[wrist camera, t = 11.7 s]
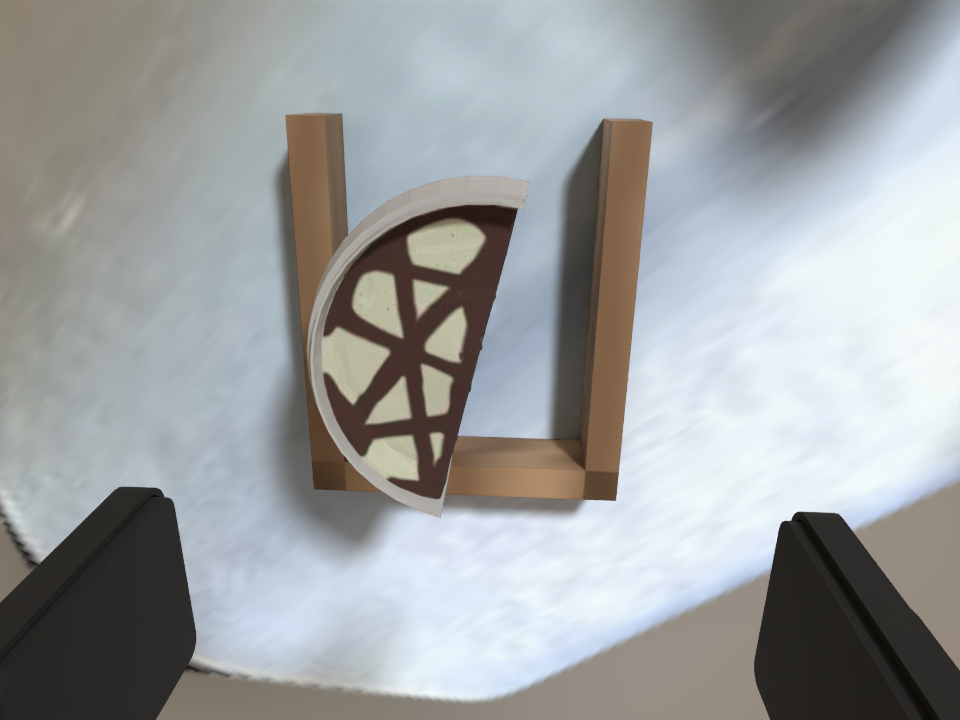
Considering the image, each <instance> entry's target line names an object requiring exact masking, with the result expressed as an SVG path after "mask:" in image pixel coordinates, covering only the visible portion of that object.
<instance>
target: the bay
mask: <svg viewBox="0 0 960 720" xmlns="http://www.w3.org/2000/svg"><path fill="white" fill-rule="evenodd" d="M285 116H286V129H287V142H288V155H289V168H290V181H291V194H292V207H293V220H294V233H295V246H296V259H297V272H298V285H299V298H300V311H301V324H302V337H303V350H304V363H305V376H306V389H307V402H308V415H309V428H310V441H311V454H312V467H313V480H314V489H323V490H349V491H375V492H383V491H381V490H380V489H378V488H377V487H375V486H374V485H373V484H372V483H371V482H369V481H368V480H367V479H366V478H365V477H364V476H363V475H361V474H360V473H359V472H358V471H357V470H356V469H355V468H354V467H353V465H352V464H351V463H350V462H349V461H348V460H347V458H346V457H345V456H344V455H343V454H342V453H341V451H340V450H339V448H338V446H337V445H336V443H335V442H334V440H333V438H332V437H331V435H330V434H329V432H328V430H327V428H326V426H325V424H324V421H323V419H322V417H321V414H320V412H319V410H318V407H317V405H316V403H315V400H314V396H313V392H312V388H311V383H310V379H309V373H308V361H307V342H308V331H309V322H310V316H311V311H312V307H313V303H314V299H315V296H316V292H317V288H318V285H319V283H320V280H321V278H322V276H323V274H324V272H325V269H326V267H327V265H328V263H329V261H330V260H331V258H332V257H333V255H334V254H335V252H336V251H337V249H338V248H339V246H340V245H341V243H342V242H343V240H344V239H345V238H346V237H347V236H348V224H347V204H346V184H345V164H344V144H343V124H342V114H324V113H304V114H293V115H285ZM652 125H653V122H650V121H645V120H640V119H603V131H602V144H601V158H600V171H599V185H598V198H597V212H596V226H595V239H594V253H593V266H592V280H591V293H590V307H589V320H588V334H587V347H586V361H585V375H584V388H583V402H582V415H581V429H580V440H555V439H526V438H498V437H470V436H458V439H457V441H456V443H455V446H454V452H453V455H452V460H451V465H450V471H449V476H448V481H447V487H446V492H445V494H453V495H480V496H506V497H532V498H558V499H584V500H610V501H616V494H617V484H618V474H619V464H620V453H621V443H622V433H623V423H624V412H625V402H626V392H627V382H628V371H629V361H630V351H631V340H632V330H633V320H634V310H635V299H636V289H637V279H638V269H639V258H640V248H641V238H642V227H643V217H644V207H645V197H646V186H647V176H648V166H649V156H650V145H651V135H652Z"/></svg>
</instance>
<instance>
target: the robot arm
mask: <svg viewBox="0 0 960 720" xmlns="http://www.w3.org/2000/svg"><path fill="white" fill-rule="evenodd" d="M195 645H196V630H195V624H194V618H193V612H192V606H191V600H190V595H189V589H188V583H187V577H186V571H185V565H184V559H183V553H182V547H181V542H180V536H179V530H178V524H177V518H176V512H175V507H174V503H173V501H172V500H171V499H170V498H166V497H164V494H163V493H162V491H161V490H160V489H158V488H147V487H119V488H117V489H116V490H114V491H113V492H112V493H111V494H110V495H109V496H108V497H107V498H106V499H105V500H104V501H103V502H102V503H101V504H100V505H99V506H98V507H97V508H96V509H95V510H94V511H93V512H92V513H91V514H90V515H89V516H88V517H87V518H86V519H85V520H84V521H83V522H82V523H81V524H80V525H79V526H78V527H77V528H76V529H75V530H74V531H73V532H72V533H71V534H70V535H69V536H68V537H67V538H66V539H65V540H64V541H63V542H62V543H60V544H59V545H58V546H57V547H56V548H55V549H54V550H53V551H52V552H51V553H50V554H49V555H48V556H47V557H46V558H45V559H44V560H43V561H42V562H41V563H40V564H39V565H38V566H37V567H36V568H35V569H34V570H33V571H32V572H31V573H30V574H29V575H28V576H27V577H26V578H25V579H24V580H23V581H22V582H21V583H20V584H19V585H18V586H17V587H16V588H15V589H14V590H13V591H12V592H11V593H10V594H9V595H8V596H7V597H6V598H5V599H4V600H2V601H1V603H0V720H156V718H157V717H158V715H159V713H160V712H161V710H162V708H163V706H164V705H165V703H166V701H167V700H168V698H169V696H170V695H171V693H172V691H173V689H174V688H175V686H176V684H177V682H178V681H179V679H180V677H181V676H182V674H183V672H184V670H185V669H186V667H187V665H188V664H189V662H190V660H191V658H192V656H193V653H194V650H195ZM754 671H755V679H756V683H757V687H758V690H759V692H760V695H761V697H762V700H763V702H764V705H765V707H766V710H767V713H768V715H769V718H770V720H960V671H959V669H958V668H957V667H956V665H955V664H954V663H953V661H952V660H951V659H950V657H949V656H948V655H947V653H946V652H945V651H944V649H943V648H942V647H941V645H940V644H939V643H938V641H937V640H936V639H935V638H934V636H933V635H932V633H931V632H930V631H929V629H928V628H927V627H926V625H925V624H924V623H923V621H922V620H921V619H920V618H919V616H917V614H915V612H913V610H912V609H910V607H909V606H908V605H907V603H906V602H905V601H904V599H903V598H902V597H901V595H900V594H899V593H898V591H897V590H896V589H895V587H894V586H893V585H892V583H891V582H890V581H889V579H888V578H887V577H886V575H885V574H884V573H883V571H882V570H881V569H880V568H879V566H878V565H877V563H876V562H875V561H874V559H873V558H872V557H871V555H870V554H869V553H868V551H867V550H866V549H865V547H864V546H863V545H862V543H861V542H860V541H859V539H858V538H857V537H856V535H855V534H854V533H853V531H852V530H851V529H850V527H849V526H848V525H847V523H846V522H845V521H844V519H843V518H842V517H841V516H840V515H839V514H836V513H820V512H797V513H795V514H794V516H793V517H792V520H791V521H783V522H782V523H781V525H780V528H779V532H778V538H777V543H776V548H775V554H774V559H773V564H772V570H771V575H770V580H769V586H768V591H767V596H766V602H765V607H764V612H763V618H762V623H761V628H760V633H759V639H758V644H757V649H756V655H755V661H754Z"/></svg>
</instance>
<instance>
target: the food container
mask: <svg viewBox="0 0 960 720" xmlns="http://www.w3.org/2000/svg"><path fill="white" fill-rule="evenodd" d="M527 188H528V181H526V180H520V179H514V178H508V177H502V176H465V177H458V178H451V179H445V180H439V181H436V182H433V183H430V184H427V185H423V186H420V187H417V188H414V189H411V190H409V191H407V192H405V193H404V194H402V195H400V196H398V197H396V198H394V199H392V200H390V201H388V202H386V203H385V204H383V205H382V206H381V207H379V208H378V209H377V210H375V211H374V212H373V213H371V214H370V215H368V216H367V217H366V218H364V219H363V220H362V221H361V222H360V223H359V224H358V225H357V226H356V228H355V229H354V230H353V231H352V232H351V233H350V234H349V235H348V236H347V237H346V238H345V239H344V240H343V242H342V243H341V245H340V246H339V248H338V249H337V251H336V252H335V254H334V255H333V257H332V258H331V260H330V261H329V263H328V265H327V267H326V269H325V272H324V274H323V276H322V278H321V280H320V283H319V285H318V288H317V292H316V296H315V299H314V303H313V307H312V311H311V316H310V322H309V331H308V342H307V361H308V373H309V379H310V383H311V388H312V392H313V396H314V400H315V403H316V405H317V407H318V410H319V412H320V414H321V417H322V419H323V421H324V424H325V426H326V428H327V430H328V432H329V434H330V435H331V437H332V438H333V440H334V442H335V443H336V445H337V446H338V448H339V450H340V451H341V453H342V454H343V455H344V456H345V457H346V458H347V460H348V461H349V462H350V463H351V464H352V465H353V467H354V468H355V469H356V470H357V471H358V472H359V473H360V474H361V475H363V476H364V477H365V478H366V479H367V480H368V481H369V482H371V483H372V484H373V485H374V486H375V487H377V488H378V489H380V490H381V491H383V492H384V493H386V494H387V495H389V496H390V497H392V498H394V499H395V500H397V501H399V502H401V503H403V504H405V505H407V506H410V507H412V508H414V509H416V510H418V511H421V512H424V513H427V514H430V515H433V516H437V517H440V518H441V514H442V508H443V503H444V497H445V492H446V487H447V481H448V476H449V471H450V465H451V460H452V455H453V452H454V446H455V443H456V441H457V439H458V432H459V428H460V424H461V420H462V416H463V412H464V408H465V405H466V401H467V397H468V394H469V392H470V390H471V383H472V379H473V375H474V372H475V368H476V364H477V360H478V356H479V353H480V350H482V341H483V337H484V334H485V330H486V326H487V323H488V319H489V316H490V312H491V309H492V305H493V302H494V300H495V298H496V291H497V287H498V284H499V280H500V276H501V272H502V269H503V265H504V261H505V257H506V255H507V250H508V246H509V242H510V238H511V234H512V230H513V226H514V222H515V218H516V214H517V210H518V208H519V209H524V208H525V200H526V196H527Z"/></svg>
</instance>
